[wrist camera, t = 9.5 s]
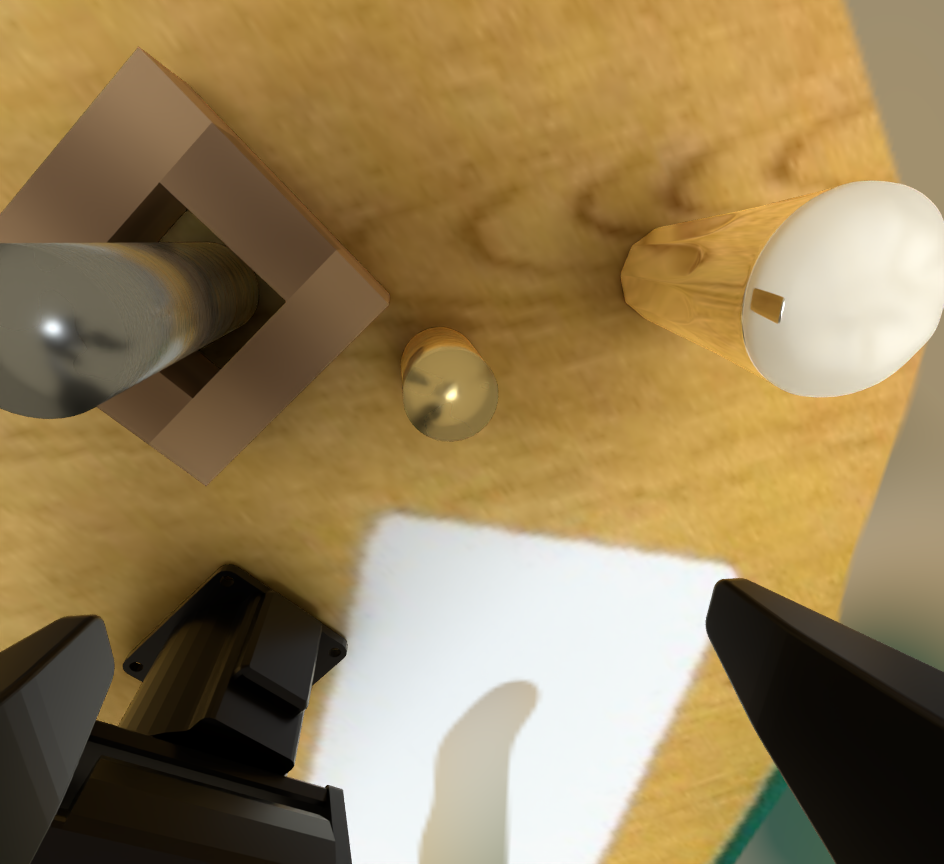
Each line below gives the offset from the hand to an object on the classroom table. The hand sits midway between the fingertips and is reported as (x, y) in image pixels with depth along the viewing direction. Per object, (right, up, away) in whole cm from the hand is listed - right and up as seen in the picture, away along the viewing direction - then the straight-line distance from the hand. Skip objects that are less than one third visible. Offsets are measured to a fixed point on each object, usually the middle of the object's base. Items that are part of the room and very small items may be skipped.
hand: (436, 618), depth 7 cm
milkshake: (+7, +9, +11) cm, 16 cm away
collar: (-8, +7, +9) cm, 14 cm away
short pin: (-1, +5, +11) cm, 12 cm away
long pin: (-8, +7, +9) cm, 14 cm away
